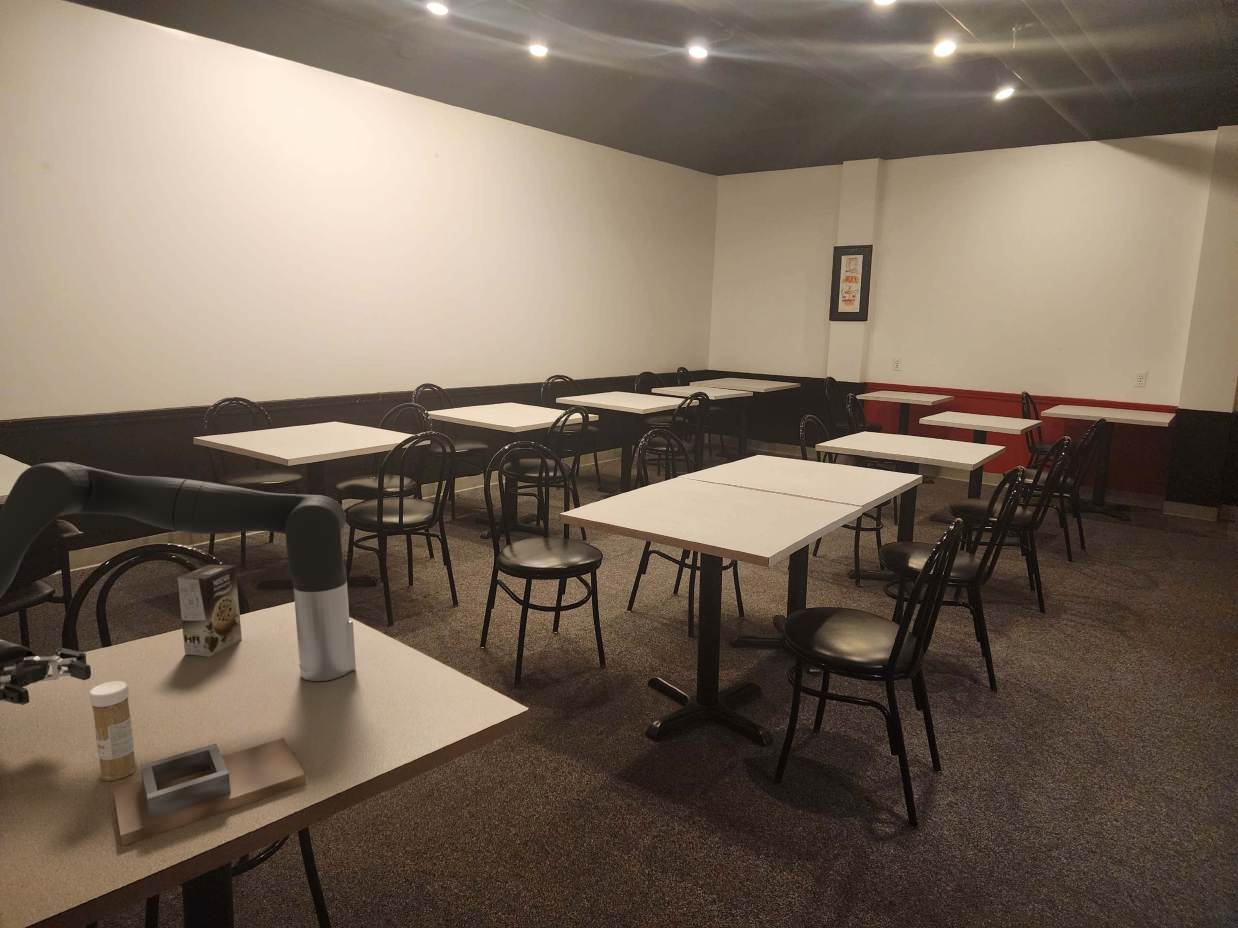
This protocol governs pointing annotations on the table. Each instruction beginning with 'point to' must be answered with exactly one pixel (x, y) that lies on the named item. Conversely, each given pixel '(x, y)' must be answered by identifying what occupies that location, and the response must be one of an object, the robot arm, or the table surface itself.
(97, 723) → the sprinkles bottle
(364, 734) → the table surface
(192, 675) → the table surface
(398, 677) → the table surface
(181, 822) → the board
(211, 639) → the cookie box
